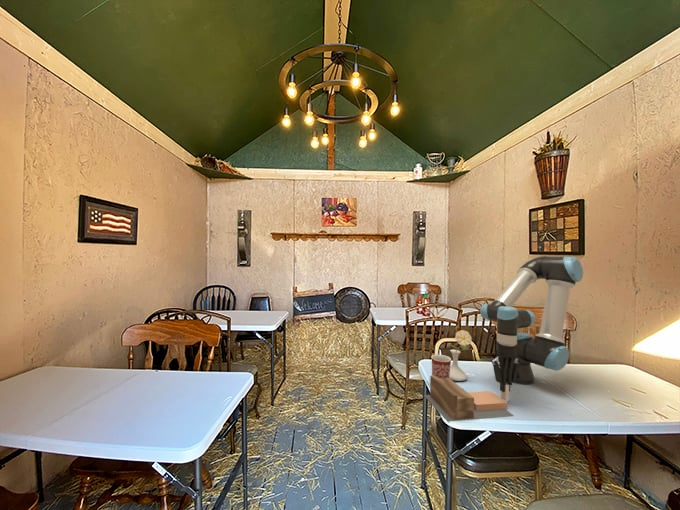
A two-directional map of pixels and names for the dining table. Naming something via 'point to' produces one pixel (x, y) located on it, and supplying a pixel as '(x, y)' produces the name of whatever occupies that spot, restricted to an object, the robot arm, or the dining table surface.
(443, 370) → the mug
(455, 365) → the flower in vase
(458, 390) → the grooved wooden block
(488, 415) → the mat
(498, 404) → the tile
